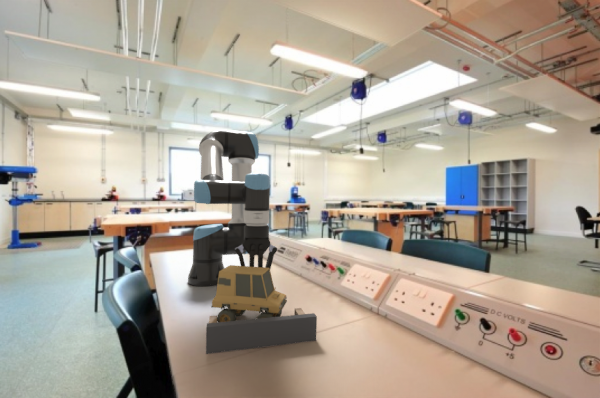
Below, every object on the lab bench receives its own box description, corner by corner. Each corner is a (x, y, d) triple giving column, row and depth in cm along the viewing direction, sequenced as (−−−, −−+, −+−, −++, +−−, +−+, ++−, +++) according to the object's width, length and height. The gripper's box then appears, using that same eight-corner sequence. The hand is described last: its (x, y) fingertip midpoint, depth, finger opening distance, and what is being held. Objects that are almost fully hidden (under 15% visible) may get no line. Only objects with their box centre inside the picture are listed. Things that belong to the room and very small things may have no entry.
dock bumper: (206, 348, 65) (207, 322, 65) (313, 335, 71) (313, 312, 71) (205, 354, 62) (206, 327, 62) (316, 340, 69) (316, 316, 69)
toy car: (278, 335, 72) (279, 277, 71) (209, 328, 75) (210, 272, 75) (287, 318, 82) (288, 267, 82) (226, 312, 85) (226, 263, 85)
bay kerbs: (209, 325, 76) (209, 316, 76) (300, 316, 83) (301, 307, 83) (206, 349, 64) (206, 338, 64) (313, 336, 71) (313, 326, 71)
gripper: (235, 225, 80) (233, 308, 80) (280, 225, 83) (278, 304, 83) (234, 223, 87) (233, 298, 87) (275, 223, 90) (274, 295, 90)
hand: (255, 301), depth 85 cm, fingers closed
